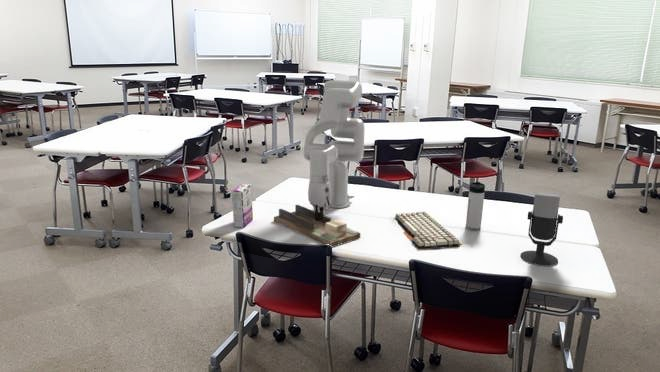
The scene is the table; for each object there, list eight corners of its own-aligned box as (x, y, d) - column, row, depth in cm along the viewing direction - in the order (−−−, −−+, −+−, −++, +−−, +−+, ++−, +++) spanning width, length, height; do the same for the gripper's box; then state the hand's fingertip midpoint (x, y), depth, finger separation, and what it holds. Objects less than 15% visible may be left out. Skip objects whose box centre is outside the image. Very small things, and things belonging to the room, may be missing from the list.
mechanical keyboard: (387, 218, 225) (388, 211, 224) (426, 216, 229) (427, 209, 228) (419, 252, 189) (419, 244, 189) (464, 249, 193) (465, 241, 193)
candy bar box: (242, 218, 220) (241, 183, 216) (253, 219, 219) (252, 184, 215) (232, 227, 210) (231, 190, 205) (243, 228, 209) (242, 191, 204)
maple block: (336, 229, 203) (336, 219, 202) (346, 234, 199) (346, 223, 197) (325, 233, 199) (325, 222, 198) (335, 237, 195) (335, 226, 194)
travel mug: (480, 226, 216) (485, 182, 210) (480, 231, 210) (485, 186, 204) (466, 224, 218) (470, 180, 212) (465, 229, 212) (469, 184, 206)
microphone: (556, 255, 187) (566, 192, 180) (558, 268, 175) (569, 202, 169) (520, 249, 191) (528, 188, 185) (520, 262, 180) (528, 197, 173)
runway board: (302, 213, 228) (302, 203, 227) (360, 237, 201) (360, 226, 199) (273, 221, 218) (273, 210, 216) (330, 247, 190) (331, 235, 189)
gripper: (338, 180, 199) (337, 223, 204) (314, 172, 209) (314, 213, 215) (324, 184, 194) (323, 227, 199) (300, 175, 205) (300, 217, 210)
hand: (318, 219), depth 207 cm, fingers closed
